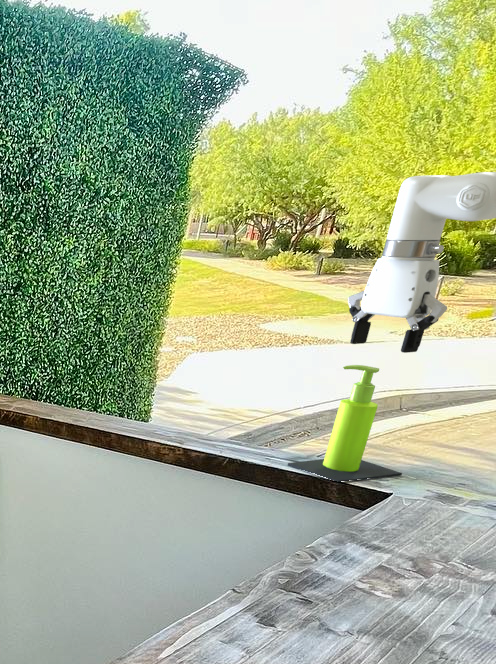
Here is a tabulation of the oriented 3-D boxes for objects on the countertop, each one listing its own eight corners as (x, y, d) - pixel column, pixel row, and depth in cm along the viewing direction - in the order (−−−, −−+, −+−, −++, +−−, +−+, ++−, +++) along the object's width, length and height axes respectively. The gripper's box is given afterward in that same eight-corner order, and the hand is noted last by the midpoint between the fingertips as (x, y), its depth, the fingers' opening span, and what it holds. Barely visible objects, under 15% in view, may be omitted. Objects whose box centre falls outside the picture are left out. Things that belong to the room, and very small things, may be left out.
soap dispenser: (322, 458, 157) (350, 361, 149) (362, 467, 152) (393, 367, 144) (312, 464, 153) (340, 366, 146) (352, 473, 148) (383, 371, 141)
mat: (348, 458, 159) (349, 455, 158) (401, 475, 149) (402, 473, 149) (287, 465, 155) (288, 462, 155) (337, 483, 145) (338, 480, 145)
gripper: (478, 252, 129) (446, 354, 135) (378, 248, 144) (354, 339, 151) (444, 254, 127) (414, 357, 134) (347, 249, 143) (324, 341, 149)
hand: (382, 347), depth 142 cm, fingers open, 9 cm apart
